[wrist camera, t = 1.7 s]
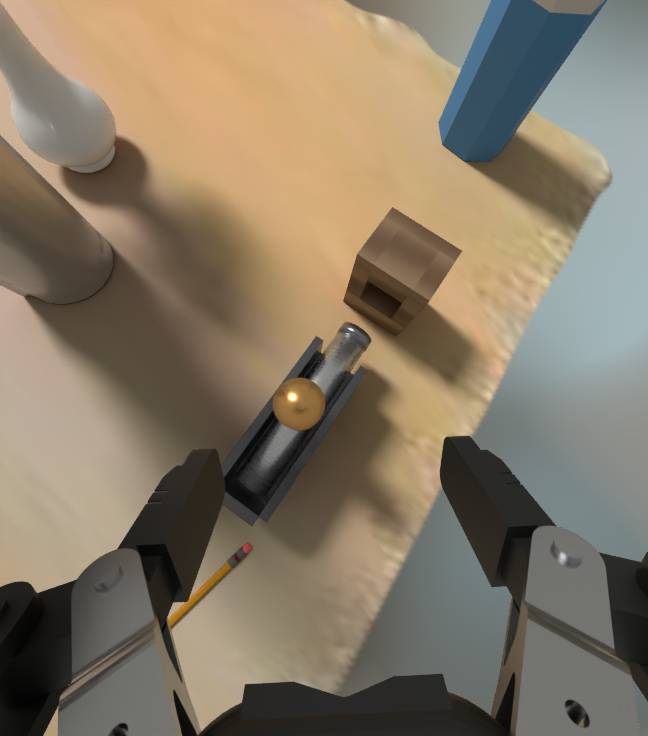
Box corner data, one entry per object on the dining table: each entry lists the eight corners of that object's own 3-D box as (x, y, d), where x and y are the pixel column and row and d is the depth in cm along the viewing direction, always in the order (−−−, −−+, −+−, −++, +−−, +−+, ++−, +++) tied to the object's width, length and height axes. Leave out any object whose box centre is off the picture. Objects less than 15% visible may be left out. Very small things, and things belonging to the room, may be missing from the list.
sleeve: (269, 510, 28) (259, 532, 22) (225, 477, 29) (203, 490, 22) (354, 383, 32) (367, 370, 25) (313, 355, 32) (316, 336, 26)
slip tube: (268, 492, 26) (245, 530, 16) (239, 471, 26) (198, 495, 16) (367, 347, 29) (401, 300, 19) (341, 329, 30) (361, 274, 19)
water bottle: (460, 172, 38) (731, -283, 14) (424, 117, 40) (613, -378, 16) (519, 150, 40) (860, -299, 15) (482, 98, 41) (739, -385, 17)
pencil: (250, 542, 28) (246, 541, 28) (253, 548, 28) (249, 548, 27) (67, 718, 25) (58, 722, 24) (69, 729, 24) (59, 733, 24)
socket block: (396, 336, 33) (429, 300, 24) (343, 301, 34) (357, 253, 25) (421, 297, 34) (462, 250, 25) (370, 264, 35) (392, 207, 26)
